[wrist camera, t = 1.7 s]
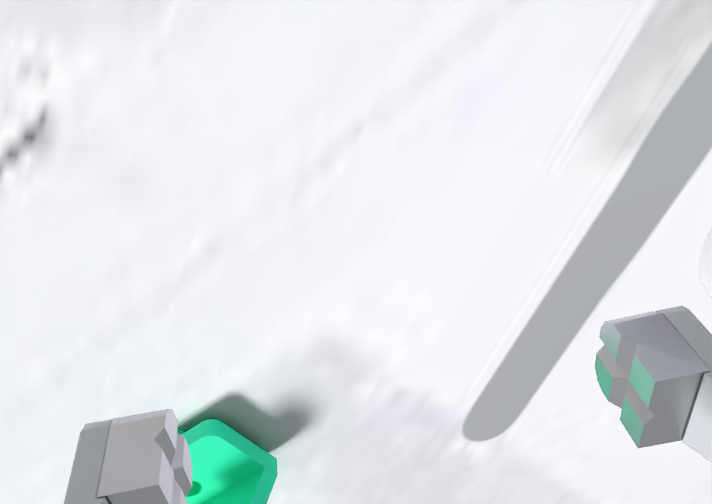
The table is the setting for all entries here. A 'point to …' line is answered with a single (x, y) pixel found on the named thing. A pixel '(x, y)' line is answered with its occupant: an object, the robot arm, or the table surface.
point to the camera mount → (227, 466)
